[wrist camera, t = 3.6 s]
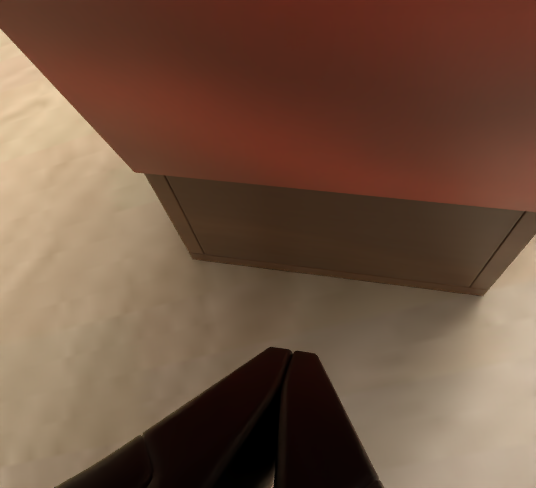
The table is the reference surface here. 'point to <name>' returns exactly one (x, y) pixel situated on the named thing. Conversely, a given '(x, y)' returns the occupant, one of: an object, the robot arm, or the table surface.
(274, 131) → the lid
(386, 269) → the box
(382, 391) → the table surface
